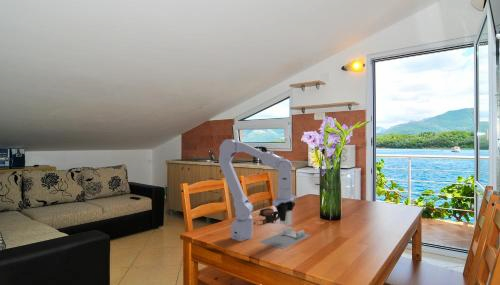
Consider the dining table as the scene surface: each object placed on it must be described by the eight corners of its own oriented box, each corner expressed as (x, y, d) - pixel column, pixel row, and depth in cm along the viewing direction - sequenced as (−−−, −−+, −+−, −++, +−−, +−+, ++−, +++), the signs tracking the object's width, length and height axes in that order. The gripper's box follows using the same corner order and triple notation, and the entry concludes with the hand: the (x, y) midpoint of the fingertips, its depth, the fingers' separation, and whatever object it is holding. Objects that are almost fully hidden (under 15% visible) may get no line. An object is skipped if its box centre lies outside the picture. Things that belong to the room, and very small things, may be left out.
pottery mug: (256, 225, 152) (255, 209, 156) (263, 228, 160) (262, 213, 164) (279, 221, 149) (277, 205, 153) (284, 224, 156) (282, 209, 160)
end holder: (297, 238, 127) (297, 233, 127) (282, 235, 132) (282, 229, 132) (305, 235, 132) (305, 229, 132) (290, 231, 137) (290, 226, 137)
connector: (287, 225, 124) (287, 209, 124) (279, 223, 126) (279, 208, 126) (291, 223, 126) (291, 208, 126) (283, 221, 129) (283, 206, 128)
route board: (282, 251, 115) (282, 249, 115) (258, 244, 123) (258, 241, 123) (311, 237, 131) (311, 235, 131) (288, 231, 140) (288, 229, 139)
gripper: (282, 191, 118) (282, 225, 118) (302, 186, 129) (302, 218, 129) (268, 189, 123) (268, 222, 123) (288, 185, 134) (288, 215, 134)
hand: (284, 219), depth 126 cm, fingers closed on connector, 3 cm apart
